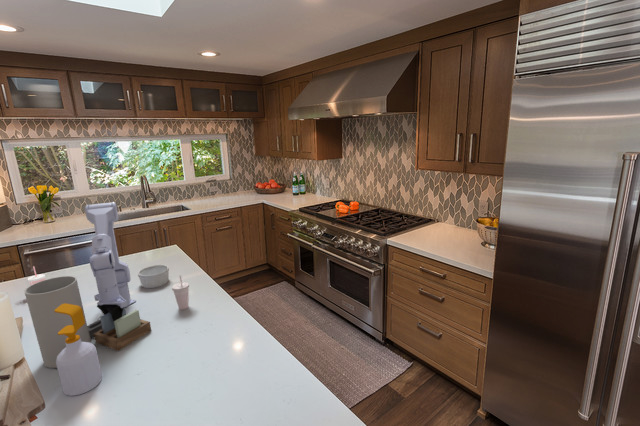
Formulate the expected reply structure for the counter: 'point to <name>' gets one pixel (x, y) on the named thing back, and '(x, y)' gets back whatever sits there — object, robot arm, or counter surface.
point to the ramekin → (154, 276)
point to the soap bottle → (77, 356)
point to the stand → (94, 328)
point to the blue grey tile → (108, 321)
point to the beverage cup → (36, 278)
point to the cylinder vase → (53, 314)
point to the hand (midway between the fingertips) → (114, 321)
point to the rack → (118, 344)
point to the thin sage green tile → (127, 323)
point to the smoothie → (181, 294)
